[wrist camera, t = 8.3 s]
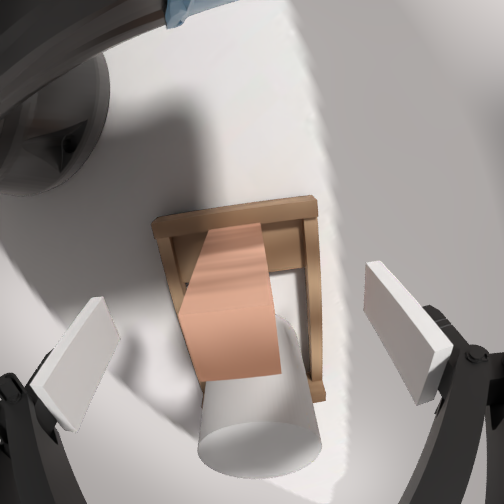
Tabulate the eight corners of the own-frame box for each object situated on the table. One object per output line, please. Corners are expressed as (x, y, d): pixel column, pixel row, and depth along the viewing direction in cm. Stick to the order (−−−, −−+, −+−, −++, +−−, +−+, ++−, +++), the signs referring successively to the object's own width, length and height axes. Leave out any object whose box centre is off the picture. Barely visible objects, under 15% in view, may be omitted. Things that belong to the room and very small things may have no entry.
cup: (236, 385, 30) (234, 485, 18) (195, 330, 27) (172, 438, 16) (309, 359, 28) (334, 460, 17) (277, 296, 26) (297, 405, 15)
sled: (157, 217, 23) (79, 298, 11) (311, 195, 22) (380, 261, 10) (207, 391, 29) (195, 496, 18) (319, 378, 29) (346, 482, 17)
